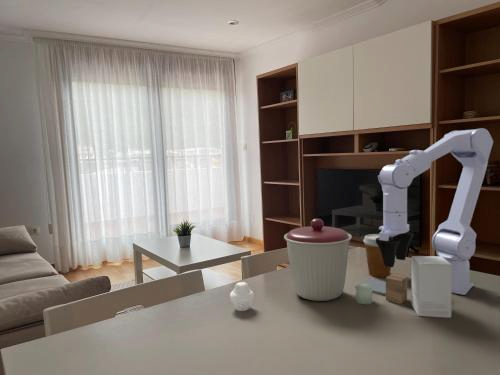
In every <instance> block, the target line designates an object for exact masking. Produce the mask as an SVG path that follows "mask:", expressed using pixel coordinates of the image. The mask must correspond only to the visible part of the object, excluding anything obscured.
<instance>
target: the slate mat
mask: <svg viewBox="0 0 500 375" xmlns="http://www.w3.org/2000/svg"><path fill="white" fill-rule="evenodd" d="M360 284H369V285H371V286H372V294H378V295H381V294H382V296H386V280H380V279H375V278H370V277H369V278H367V279H366V280H364V281H363V282H361V283H360Z"/></svg>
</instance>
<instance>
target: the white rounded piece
mask: <svg viewBox="0 0 500 375" xmlns="http://www.w3.org/2000/svg"><path fill="white" fill-rule="evenodd" d="M254 297H255V294H254V292H253V291H252V290H251V288H250V287H249V284H248V283H247V282H245V281H240V282H237V283H236V284H235V285H234V288H233V290H232V291H231V292H230V294H229V299H230V302H231V303H232V305H233V306H234V308H235V309H236V311H237V312H245V311H248V310H249V309H250V308H251V305H252V302H253V300H254Z"/></svg>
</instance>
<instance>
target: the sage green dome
mask: <svg viewBox="0 0 500 375" xmlns="http://www.w3.org/2000/svg"><path fill="white" fill-rule="evenodd" d="M355 289H356V291H355V292H356V293H355V294H356V295H355V296H356V297H355V298H356V300H355V301H356V303H358V304H360V305H371V304H373V292H372V286H371V285H369V284H361V283H359V284H356V286H355Z"/></svg>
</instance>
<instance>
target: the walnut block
mask: <svg viewBox="0 0 500 375" xmlns="http://www.w3.org/2000/svg"><path fill="white" fill-rule="evenodd" d="M385 281H386V295H385V301H387V300H389V301H388V302H391V301H392V302H393V303H395V302H396V304H400V303H401V304H403V303H404V302H406V301H407V300H406V299H408V276H406V275H405V276H404V275H400V274H394V273H390V275H389V276H388V277H385Z"/></svg>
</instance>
